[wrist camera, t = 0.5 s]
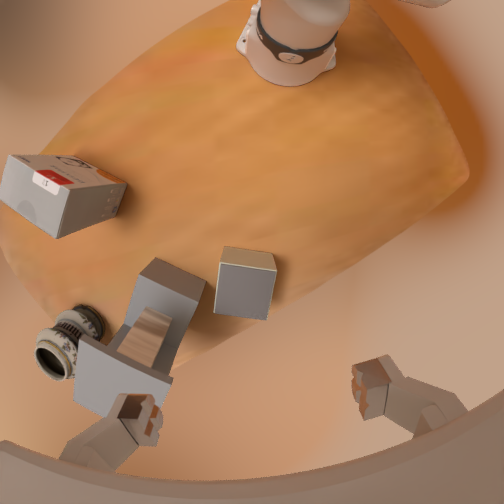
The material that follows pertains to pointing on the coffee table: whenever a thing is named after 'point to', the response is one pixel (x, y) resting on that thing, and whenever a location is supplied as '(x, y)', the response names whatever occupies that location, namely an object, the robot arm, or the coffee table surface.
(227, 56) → the coffee table surface
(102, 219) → the hard drive box
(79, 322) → the apothecary jar
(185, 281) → the grey podium
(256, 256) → the stand
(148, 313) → the block
